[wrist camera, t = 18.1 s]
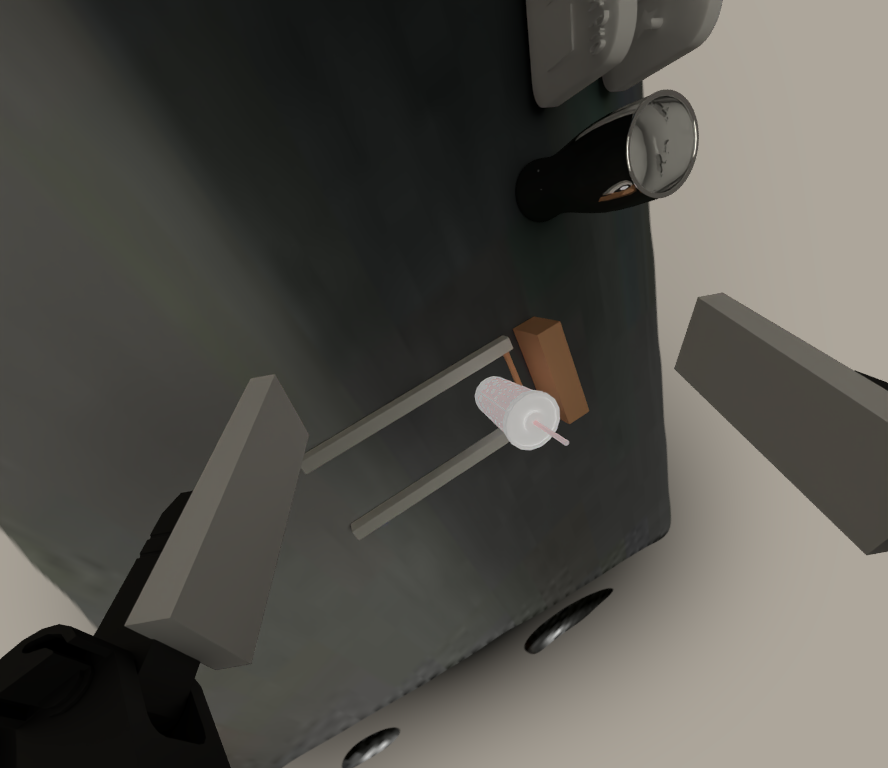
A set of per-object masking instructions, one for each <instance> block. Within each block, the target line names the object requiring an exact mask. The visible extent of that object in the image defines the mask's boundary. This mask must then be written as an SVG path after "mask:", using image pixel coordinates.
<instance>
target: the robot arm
mask: <svg viewBox="0 0 888 768" xmlns="http://www.w3.org/2000/svg"><path fill="white" fill-rule="evenodd" d="M674 369H675V370H676V371H677V372H678V373H679V374H680V375H681V376H682V377H683V378H684V379H685V380H686V381H687V382H688V383H690V384H691V386H693V388H695V389H696V390H697V391H698V392H699V393H700V394H701V395H702V396H703V397H704V398H705V399H706V400H707V401H708V402H709V403H710V404H711V405H712V406H713V407H714V408H715V409H716V410H717V411H718V412H719V413H720V414H721V415H722V416H723V417H724V418H726V420H728V421H729V422H730V423H731V424H732V425H733V426H734V427H735V428H736V429H737V430H738V431H739V432H740V433H741V434H742V435H743V436H744V437H745V438H746V439H747V440H748V441H749V442H750V443H751V444H752V445H753V446H754V447H755V448H756V449H757V450H759V452H761V453H762V454H763V455H764V456H765V457H766V458H767V459H768V460H769V461H770V462H771V463H772V464H773V465H774V466H775V467H776V468H777V469H778V470H779V471H780V472H781V473H782V474H783V475H784V476H785V477H786V478H787V479H788V480H789V481H791V482H792V483H793V484H794V485H795V486H796V487H797V488H798V489H799V490H800V491H801V492H802V493H803V494H804V495H805V496H806V497H807V498H808V499H809V500H810V501H811V502H812V503H813V504H814V505H815V506H816V507H817V508H818V509H819V510H820V511H821V512H823V514H824V515H826V516H827V517H828V518H829V519H830V520H831V521H832V522H833V523H834V524H835V525H836V526H837V527H838V528H839V529H840V530H841V531H842V532H843V533H844V534H845V535H846V536H847V537H848V538H849V539H850V540H851V541H852V542H853V543H854V544H855V545H856V546H857V547H859V548H860V550H862V551H863V552H864V553H865V554H866V555H870V554H876V553H881V552H887V551H888V383H887V382H884V381H882V380H879V379H876V378H874V377H871V376H868V375H866V374H863V373H860V372H857V371H853V370H852V369H850V368H848V367H847V366H845V365H843V364H842V363H840V362H838V361H837V360H835V359H833V358H832V357H830V356H828V355H827V354H825V353H823V352H822V351H820V350H818V349H816V348H815V347H813V346H811V345H810V344H808V343H806V342H805V341H803V340H801V339H800V338H798V337H796V336H795V335H793V334H791V333H790V332H788V331H786V330H784V329H783V328H781V327H780V326H777V325H776V324H775V323H773V322H771V321H769V320H768V319H766V318H764V317H762V316H761V315H759V314H758V313H756V312H754V311H753V310H751V309H749V308H748V307H746V306H744V305H743V304H741V303H739V302H738V301H736V300H734V299H732V298H731V297H729V296H727V295H726V294H724V293H719V294H713V295H708V296H702V297H698V299H697V302H696V305H695V308H694V311H693V314H692V317H691V320H690V323H689V326H688V329H687V332H686V335H685V338H684V341H683V344H682V347H681V350H680V353H679V356H678V359H677V362H676V365H675V368H674ZM308 437H309V434H308V432H307V430H306V428H305V426H304V425H303V423H302V421H301V419H300V418H299V416H298V414H297V412H296V410H295V409H294V407H293V405H292V403H291V402H290V400H289V398H288V396H287V394H286V393H285V391H284V389H283V387H282V386H281V384H280V382H279V380H278V378H277V377H276V375H275V374H273V375H267V376H262V377H256V378H251V379H250V381H249V383H248V385H247V386H246V388H245V390H244V392H243V394H242V396H241V398H240V400H239V402H238V404H237V406H236V408H235V410H234V412H233V414H232V416H231V418H230V420H229V422H228V424H227V426H226V428H225V430H224V431H223V433H222V435H221V437H220V439H219V441H218V443H217V445H216V447H215V449H214V451H213V453H212V455H211V457H210V459H209V461H208V463H207V465H206V467H205V469H204V471H203V473H202V474H201V476H200V478H199V480H198V482H197V484H196V486H195V488H194V490H193V491H189V492H184V493H181V494H180V495H179V496H178V497H177V498H176V499H175V500H174V501H173V502H172V503H171V504H170V506H169V507H168V508H167V509H166V510H165V511H164V512H163V513H162V515H161V517H160V518H159V520H158V522H157V524H156V526H155V527H154V529H153V531H152V533H151V535H150V536H151V538H150V539H149V540H147V542H146V543H145V545H144V547H143V549H142V551H141V552H140V558H138V559H137V560H136V561H135V563H134V565H133V567H132V569H131V570H130V572H129V574H128V576H127V578H126V579H125V581H124V583H123V585H122V587H121V588H120V590H119V592H118V594H117V595H116V597H115V599H114V601H113V603H112V604H111V606H110V608H109V610H108V612H107V613H106V615H105V617H104V619H103V621H102V622H101V624H100V626H99V628H98V630H97V631H96V633H95V634H94V636H92V635H90V634H87V633H85V632H82V631H80V630H78V629H76V628H73V627H71V626H65V625H60V624H58V625H54V626H51V627H48V628H44V629H41V630H40V631H38V632H36V633H35V634H33V635H31V636H29V637H28V638H26V639H24V640H23V641H21V642H20V643H19V644H18V645H17V646H15V647H14V648H13V649H12V650H11V651H9V652H8V653H7V654H6V655H5V656H3V657H2V658H1V659H0V768H231V767H230V764H229V762H228V759H227V756H226V753H225V751H224V748H223V745H222V742H221V740H220V737H219V734H218V732H217V729H216V726H215V723H214V721H213V718H212V715H211V712H210V710H209V707H208V704H207V701H206V699H205V696H204V693H203V690H202V688H201V686H200V685H199V683H198V682H197V681H196V680H195V676H196V673H197V670H198V667H199V664H200V663H202V664H204V665H206V666H208V667H210V668H212V669H214V670H219V669H225V668H231V667H236V666H242V665H248V664H251V663H252V659H253V655H254V651H255V647H256V643H257V639H258V635H259V631H260V627H261V623H262V619H263V615H264V611H265V607H266V603H267V599H268V595H269V591H270V587H271V584H272V580H273V576H274V572H275V568H276V564H277V560H278V556H279V552H280V548H281V544H282V540H283V536H284V532H285V528H286V524H287V520H288V516H289V512H290V508H291V504H292V500H293V496H294V493H295V489H296V485H297V481H298V477H299V473H300V469H301V465H302V461H303V457H304V453H305V449H306V445H307V441H308Z"/></svg>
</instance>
